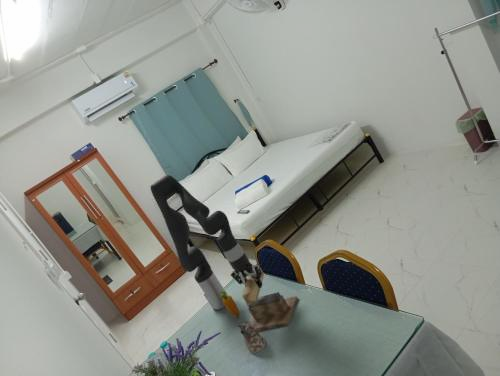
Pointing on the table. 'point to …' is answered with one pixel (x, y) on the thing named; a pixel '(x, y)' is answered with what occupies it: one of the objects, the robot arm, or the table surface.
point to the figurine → (251, 338)
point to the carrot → (229, 304)
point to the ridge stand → (271, 311)
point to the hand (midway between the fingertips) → (255, 288)
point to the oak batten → (251, 290)
